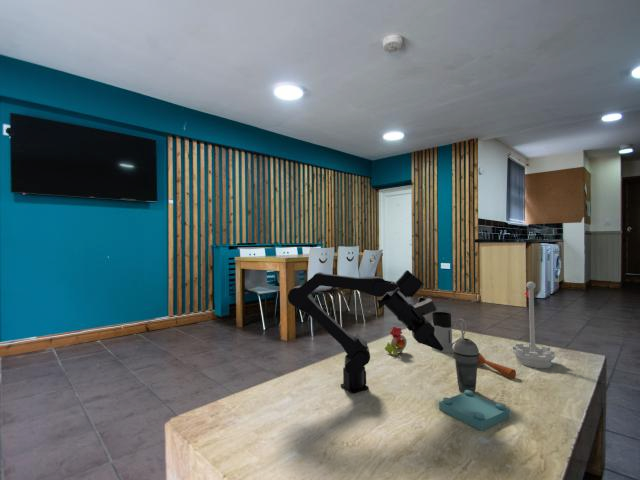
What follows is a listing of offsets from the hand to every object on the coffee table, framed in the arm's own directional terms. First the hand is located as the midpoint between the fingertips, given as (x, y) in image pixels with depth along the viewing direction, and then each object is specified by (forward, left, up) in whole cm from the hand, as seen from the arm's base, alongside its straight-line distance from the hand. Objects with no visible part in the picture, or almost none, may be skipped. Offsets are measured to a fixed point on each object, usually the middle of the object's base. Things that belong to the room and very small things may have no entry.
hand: (438, 345), depth 99 cm
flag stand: (+48, -3, -14) cm, 50 cm away
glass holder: (+34, +23, -14) cm, 44 cm away
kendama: (+28, +3, -14) cm, 32 cm away
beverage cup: (+6, -5, -14) cm, 16 cm away
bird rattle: (+13, +32, -14) cm, 38 cm away
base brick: (-4, -14, -14) cm, 20 cm away
